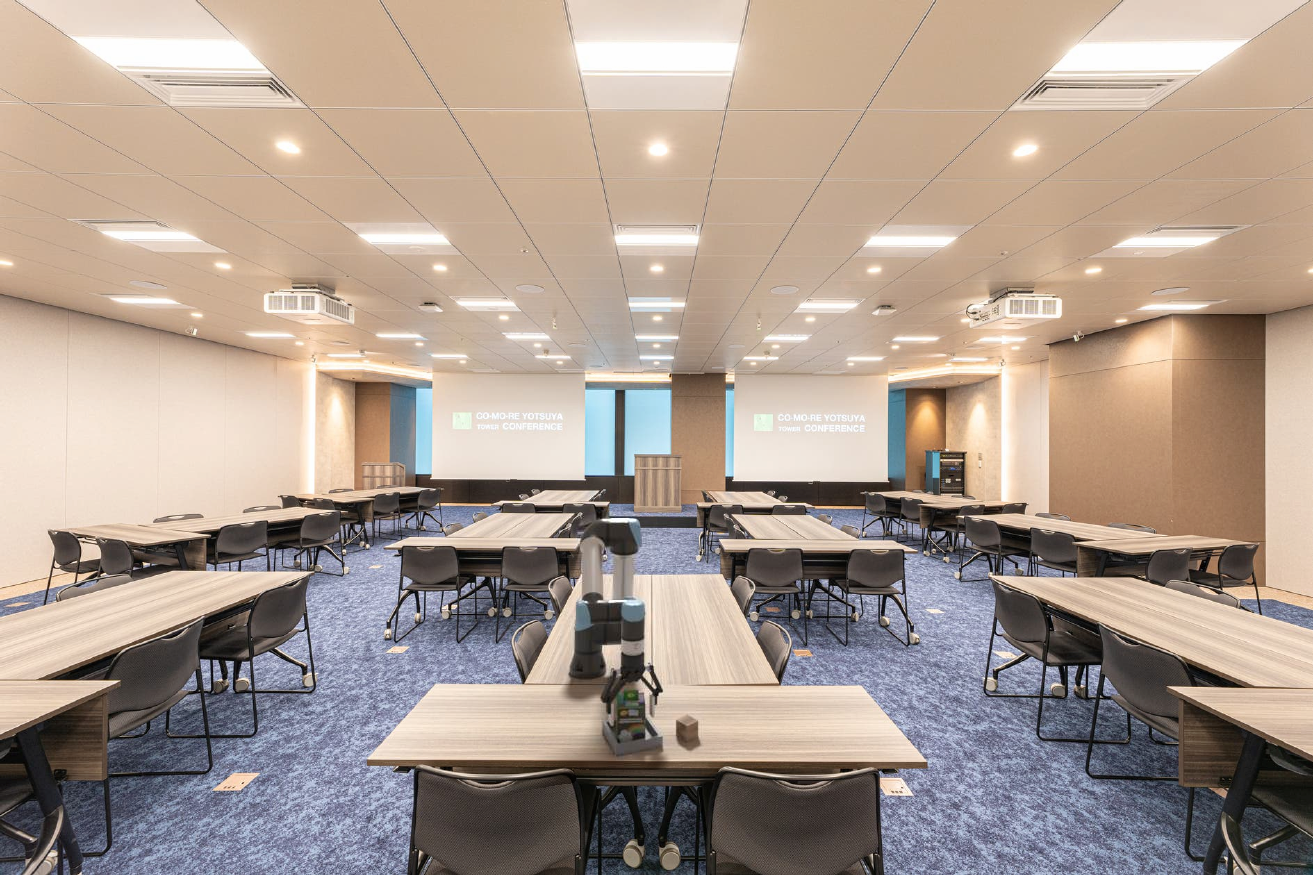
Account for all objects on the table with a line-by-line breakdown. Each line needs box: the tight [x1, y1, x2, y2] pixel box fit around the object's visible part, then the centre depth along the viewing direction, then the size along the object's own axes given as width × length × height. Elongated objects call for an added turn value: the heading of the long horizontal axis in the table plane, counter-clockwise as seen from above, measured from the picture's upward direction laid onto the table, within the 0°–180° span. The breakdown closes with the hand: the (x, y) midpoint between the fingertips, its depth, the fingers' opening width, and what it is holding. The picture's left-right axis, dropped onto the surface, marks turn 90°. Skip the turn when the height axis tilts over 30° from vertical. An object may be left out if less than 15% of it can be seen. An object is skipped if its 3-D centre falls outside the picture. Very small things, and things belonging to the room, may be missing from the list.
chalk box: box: [615, 689, 647, 744], centre depth 156 cm, size 9×9×15 cm
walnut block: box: [675, 714, 699, 743], centre depth 158 cm, size 5×5×5 cm
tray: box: [601, 712, 664, 757], centre depth 156 cm, size 15×15×3 cm
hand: (631, 719), depth 156 cm, fingers open, 13 cm apart
